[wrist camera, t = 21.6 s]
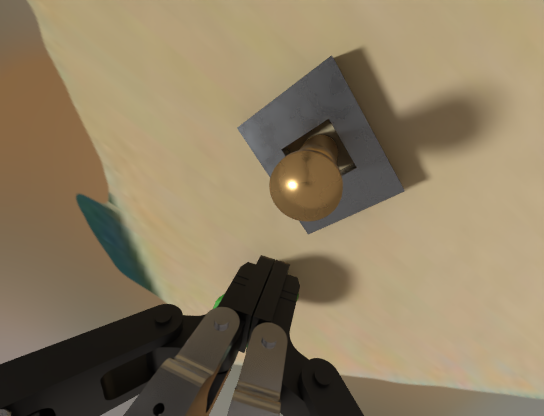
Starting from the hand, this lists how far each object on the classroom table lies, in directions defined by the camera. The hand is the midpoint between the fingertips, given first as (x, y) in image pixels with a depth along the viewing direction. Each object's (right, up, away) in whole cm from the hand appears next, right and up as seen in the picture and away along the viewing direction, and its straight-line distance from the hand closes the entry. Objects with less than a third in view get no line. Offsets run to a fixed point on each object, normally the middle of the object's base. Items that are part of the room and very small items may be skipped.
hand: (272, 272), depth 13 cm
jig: (+7, +11, +23) cm, 26 cm away
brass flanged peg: (+7, +11, +23) cm, 26 cm away
